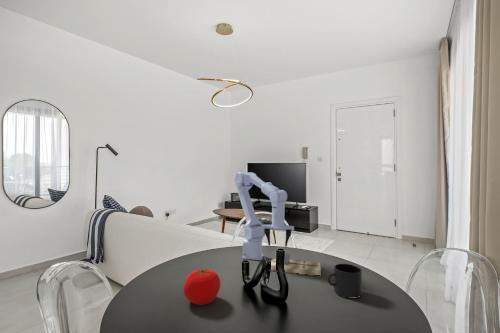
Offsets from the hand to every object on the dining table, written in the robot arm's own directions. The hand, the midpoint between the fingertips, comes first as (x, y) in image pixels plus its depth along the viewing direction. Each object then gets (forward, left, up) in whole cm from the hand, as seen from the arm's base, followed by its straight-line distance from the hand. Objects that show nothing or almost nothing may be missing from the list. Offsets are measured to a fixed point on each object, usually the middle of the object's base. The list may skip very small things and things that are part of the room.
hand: (277, 245), depth 121 cm
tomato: (-20, -39, -10) cm, 45 cm away
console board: (+8, -1, -9) cm, 13 cm away
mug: (+27, -19, -10) cm, 35 cm away
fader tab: (+4, -1, -7) cm, 8 cm away
